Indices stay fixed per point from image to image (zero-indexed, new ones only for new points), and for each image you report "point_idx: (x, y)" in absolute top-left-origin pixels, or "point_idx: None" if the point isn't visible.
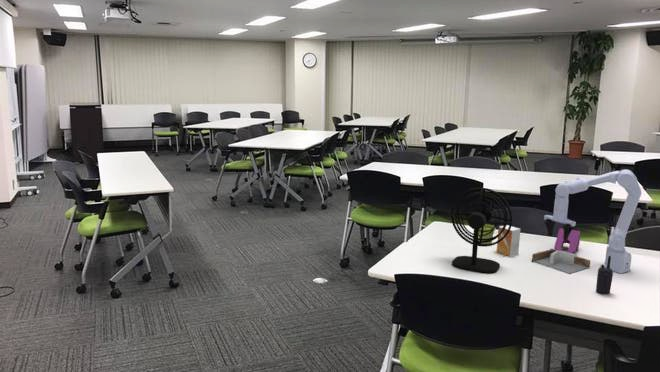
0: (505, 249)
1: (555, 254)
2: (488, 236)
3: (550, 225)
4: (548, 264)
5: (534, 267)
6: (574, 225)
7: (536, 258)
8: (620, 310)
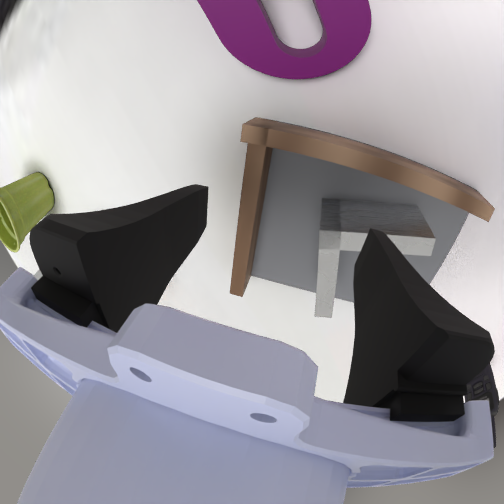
0: None
1: (334, 296)
2: (34, 221)
3: (145, 301)
4: (314, 278)
5: (282, 320)
6: (473, 420)
7: (249, 270)
8: None
